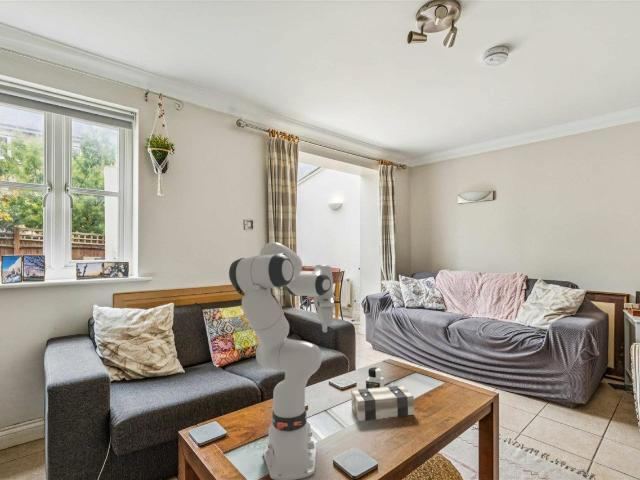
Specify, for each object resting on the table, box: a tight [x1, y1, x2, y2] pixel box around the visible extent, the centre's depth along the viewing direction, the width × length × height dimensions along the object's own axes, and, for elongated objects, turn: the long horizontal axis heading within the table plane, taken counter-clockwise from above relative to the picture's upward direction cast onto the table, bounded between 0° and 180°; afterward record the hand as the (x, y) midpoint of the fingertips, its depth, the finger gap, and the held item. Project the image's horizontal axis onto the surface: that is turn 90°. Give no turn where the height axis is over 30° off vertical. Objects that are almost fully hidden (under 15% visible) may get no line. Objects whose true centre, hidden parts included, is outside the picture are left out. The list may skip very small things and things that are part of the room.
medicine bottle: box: [365, 367, 385, 389], centre depth 167 cm, size 7×7×12 cm
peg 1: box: [361, 393, 371, 397], centre depth 147 cm, size 4×4×7 cm
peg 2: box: [392, 390, 402, 394], centre depth 149 cm, size 4×4×7 cm
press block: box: [350, 385, 415, 422], centre depth 148 cm, size 12×24×8 cm, turn 98°
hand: (324, 331), depth 153 cm, fingers closed
